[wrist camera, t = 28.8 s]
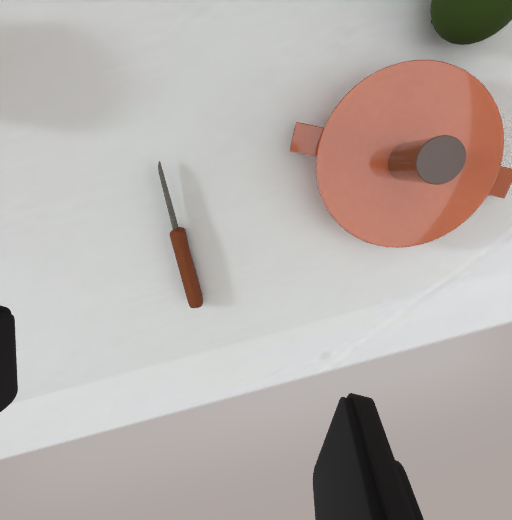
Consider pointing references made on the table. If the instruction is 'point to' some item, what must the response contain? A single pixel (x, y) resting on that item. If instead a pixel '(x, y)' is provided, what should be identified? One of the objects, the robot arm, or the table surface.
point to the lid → (410, 153)
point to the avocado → (469, 19)
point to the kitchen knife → (182, 252)
